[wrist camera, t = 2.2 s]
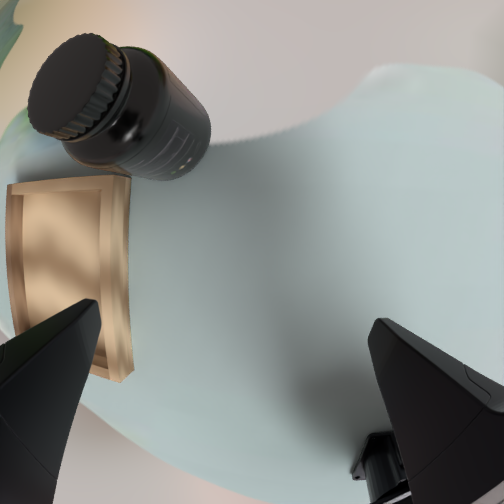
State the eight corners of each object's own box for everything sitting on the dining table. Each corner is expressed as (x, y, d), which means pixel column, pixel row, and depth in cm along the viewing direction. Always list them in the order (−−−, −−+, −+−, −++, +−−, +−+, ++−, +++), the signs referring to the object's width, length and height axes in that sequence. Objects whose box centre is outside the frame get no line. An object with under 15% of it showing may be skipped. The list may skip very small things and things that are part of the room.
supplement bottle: (117, 137, 21) (4, 94, 9) (182, 81, 20) (98, -8, 8) (158, 202, 21) (35, 192, 9) (232, 143, 20) (161, 61, 8)
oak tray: (134, 369, 23) (120, 382, 20) (32, 335, 25) (17, 342, 22) (131, 178, 21) (113, 174, 19) (24, 185, 23) (7, 184, 20)
